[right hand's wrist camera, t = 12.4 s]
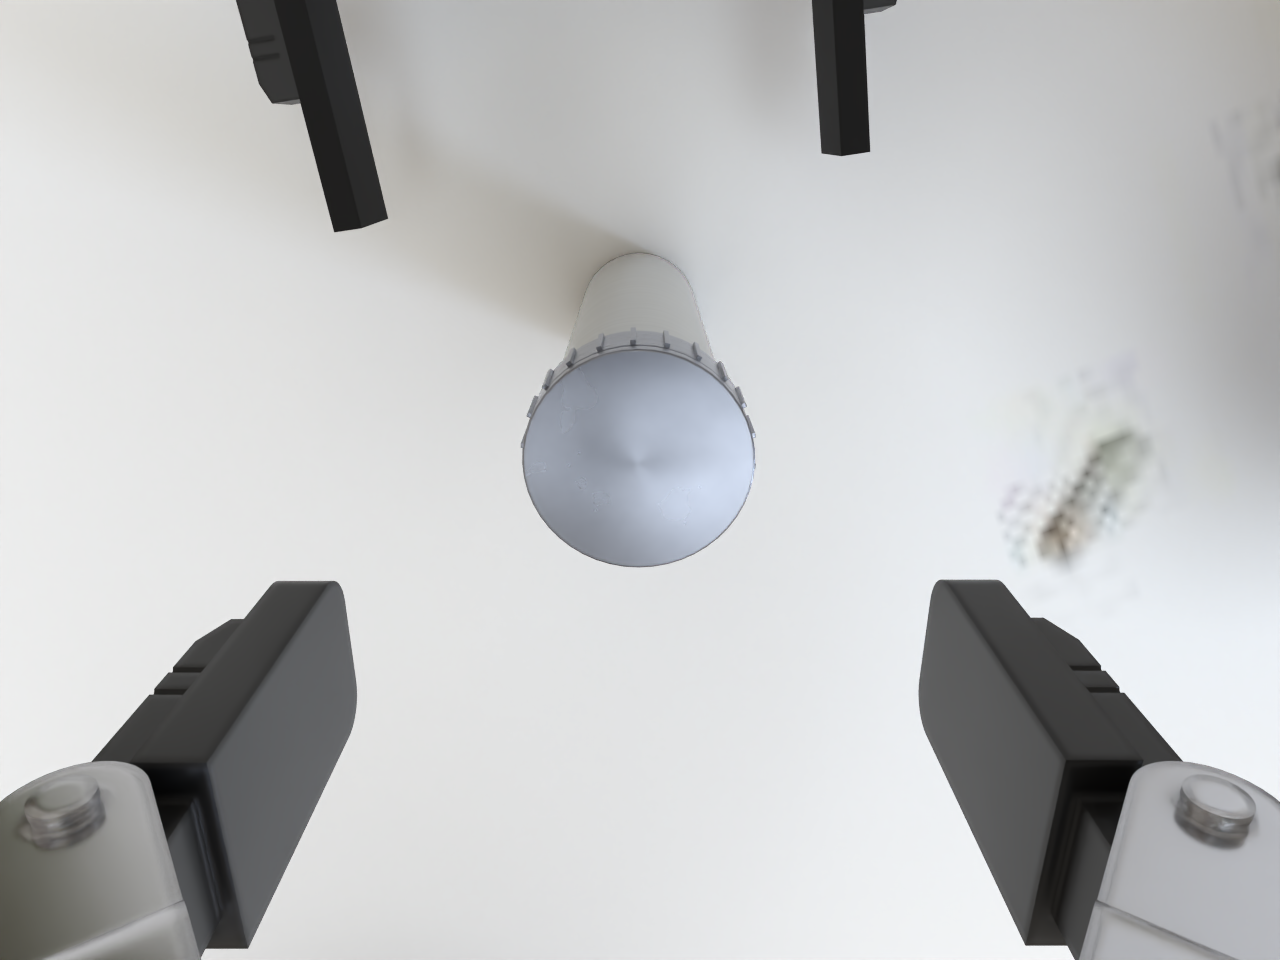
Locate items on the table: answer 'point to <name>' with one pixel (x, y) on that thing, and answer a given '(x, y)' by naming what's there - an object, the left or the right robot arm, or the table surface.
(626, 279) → the jar
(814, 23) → the left robot arm
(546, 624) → the table surface
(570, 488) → the lid
